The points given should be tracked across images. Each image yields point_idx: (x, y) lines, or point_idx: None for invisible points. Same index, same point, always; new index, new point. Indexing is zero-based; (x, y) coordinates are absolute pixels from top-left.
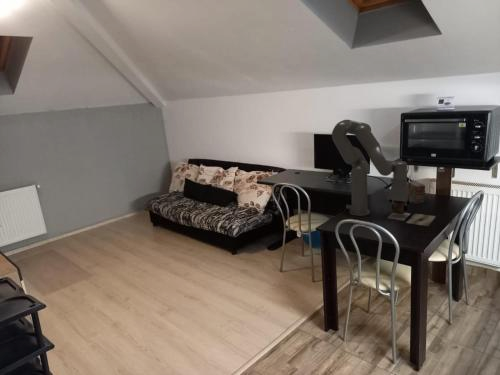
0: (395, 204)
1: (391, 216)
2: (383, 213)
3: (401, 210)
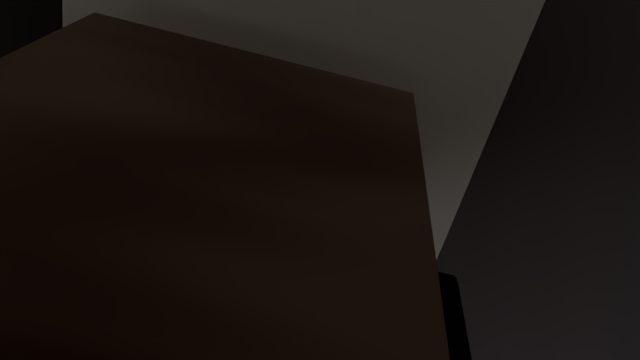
0: (291, 261)
1: (446, 56)
2: (633, 255)
3: (85, 64)
